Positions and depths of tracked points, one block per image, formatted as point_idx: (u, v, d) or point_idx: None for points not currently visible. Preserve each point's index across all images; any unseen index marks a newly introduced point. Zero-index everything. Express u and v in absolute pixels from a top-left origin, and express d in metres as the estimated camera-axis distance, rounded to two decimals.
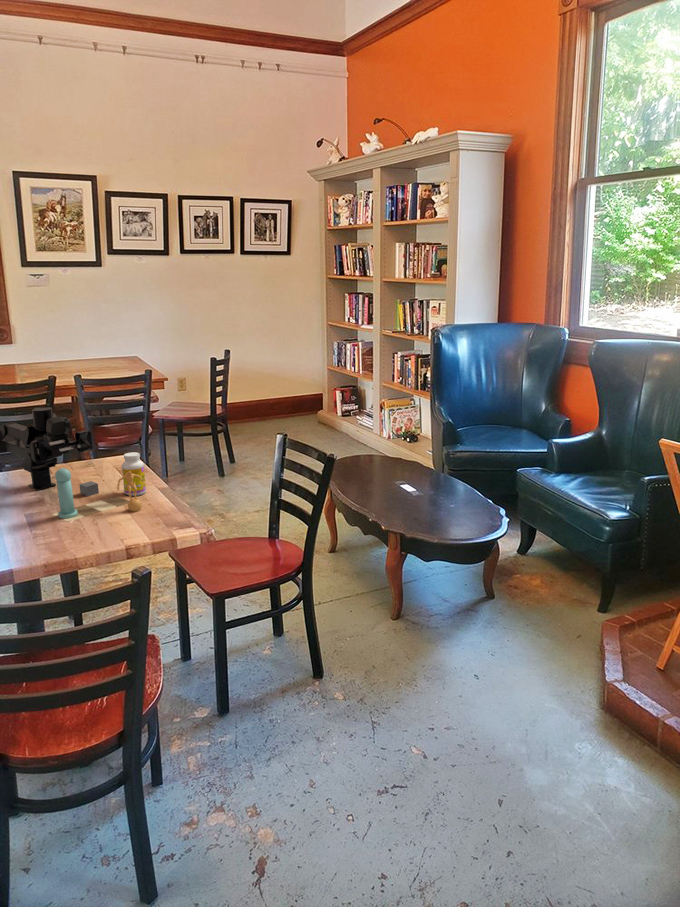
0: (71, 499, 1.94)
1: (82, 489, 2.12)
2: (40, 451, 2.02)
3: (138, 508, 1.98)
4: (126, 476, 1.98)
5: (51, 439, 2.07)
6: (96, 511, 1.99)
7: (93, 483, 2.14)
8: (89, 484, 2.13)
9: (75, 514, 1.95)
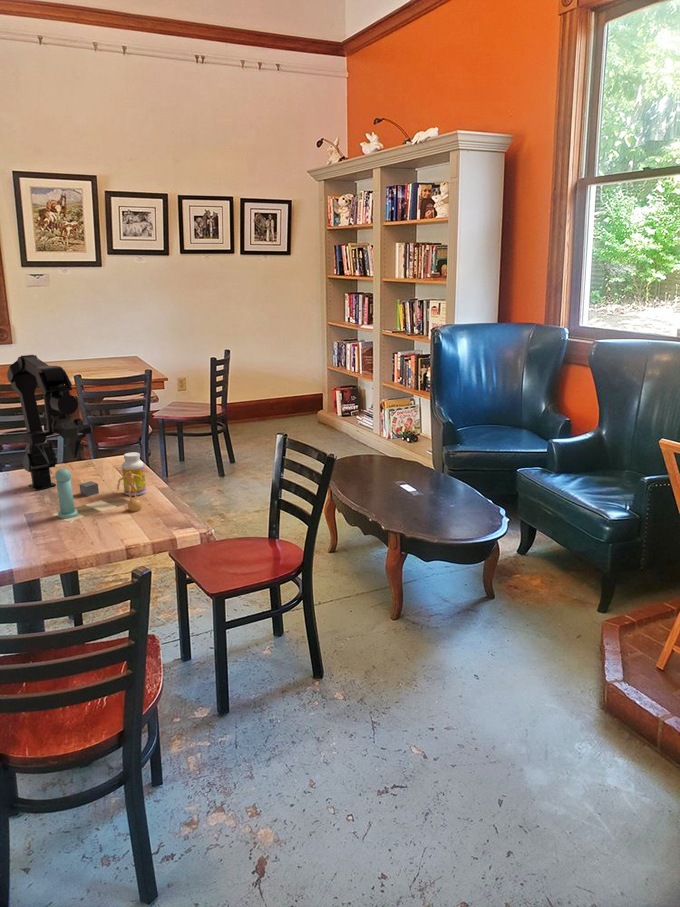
0: (71, 499, 1.94)
1: (82, 489, 2.12)
2: None
3: (138, 508, 1.98)
4: (126, 476, 1.98)
5: None
6: (96, 511, 1.99)
7: (93, 483, 2.14)
8: (89, 484, 2.13)
9: (75, 514, 1.95)
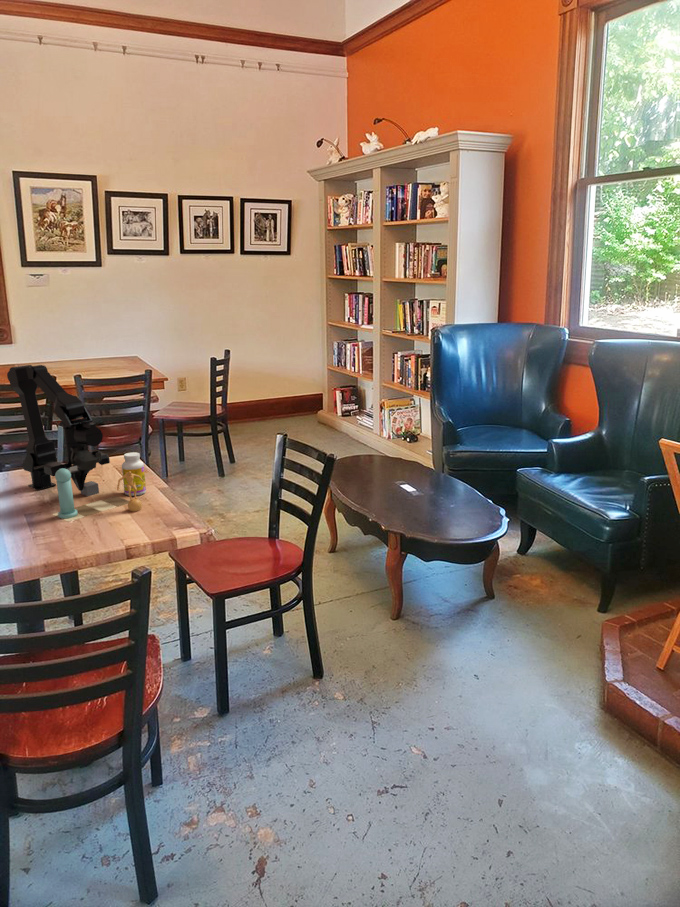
0: (71, 499, 1.94)
1: (83, 489, 2.12)
2: None
3: (138, 508, 1.98)
4: (126, 476, 1.98)
5: None
6: (96, 511, 1.99)
7: (93, 483, 2.14)
8: (89, 484, 2.13)
9: (75, 514, 1.95)
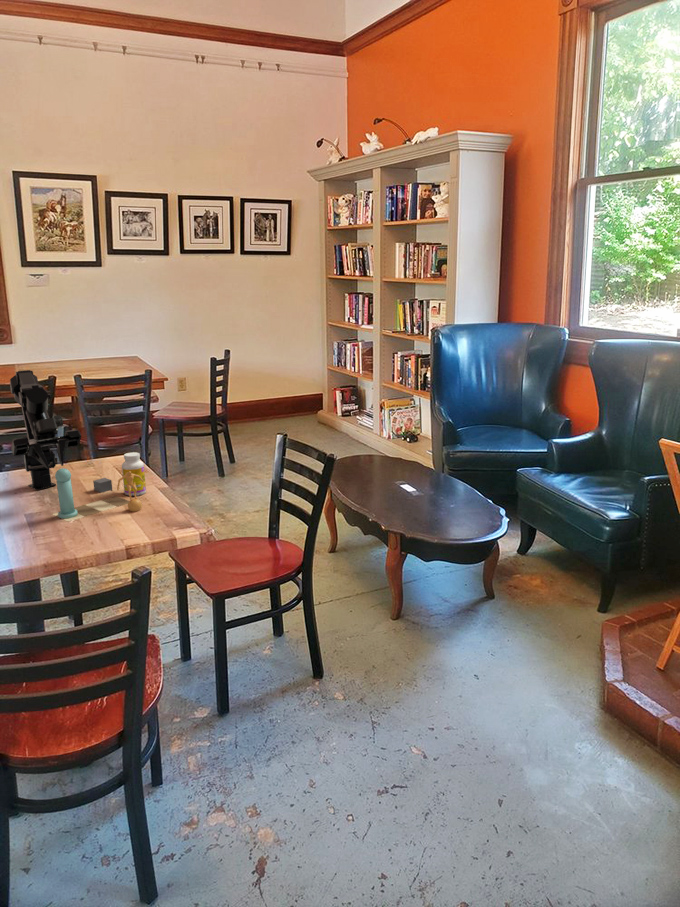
0: (71, 499, 1.94)
1: (96, 485, 2.16)
2: (30, 450, 1.97)
3: (138, 508, 1.98)
4: (126, 476, 1.98)
5: (37, 436, 1.98)
6: (96, 511, 1.99)
7: (107, 479, 2.17)
8: (103, 480, 2.16)
9: (75, 514, 1.95)
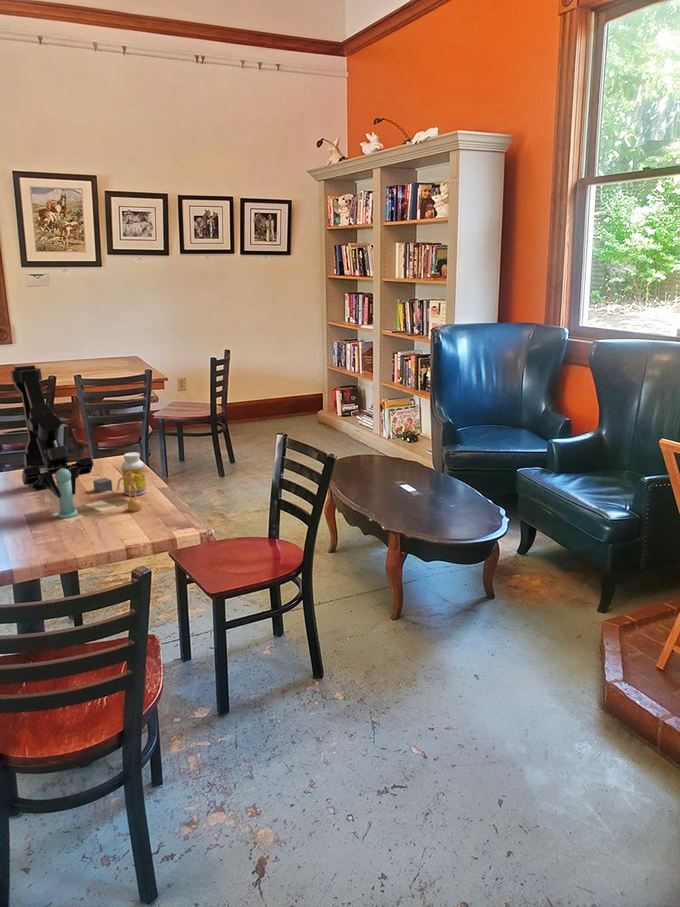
0: (71, 499, 1.94)
1: (96, 485, 2.16)
2: (41, 479, 1.92)
3: (138, 508, 1.98)
4: (126, 476, 1.98)
5: (48, 464, 1.93)
6: (96, 511, 1.99)
7: (107, 480, 2.17)
8: (103, 480, 2.16)
9: (75, 514, 1.95)
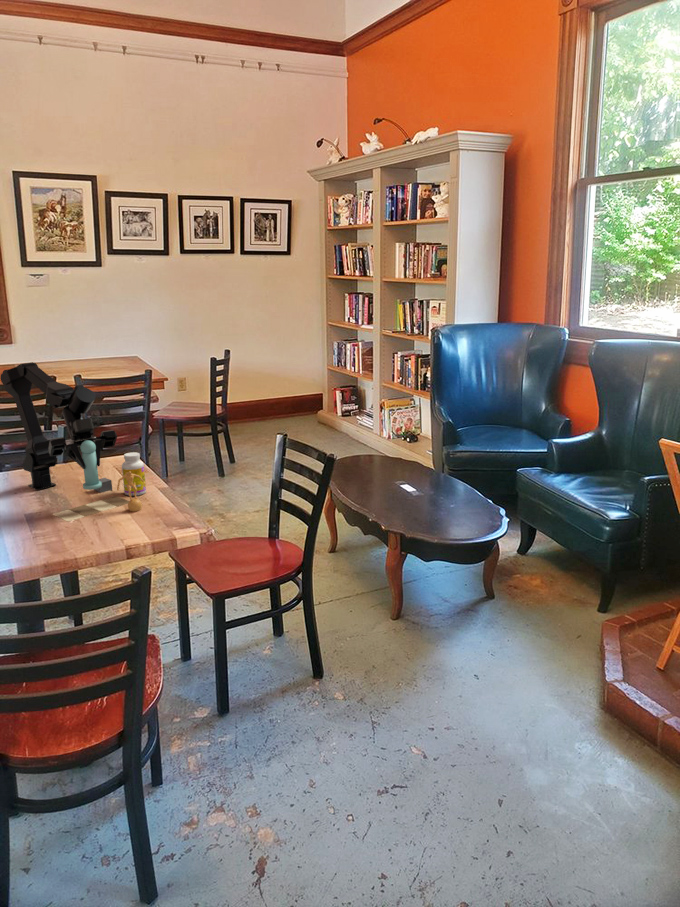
0: (96, 471, 1.98)
1: None
2: (66, 451, 1.97)
3: (138, 508, 1.98)
4: (126, 476, 1.98)
5: (74, 436, 1.98)
6: (96, 511, 1.99)
7: (107, 479, 2.17)
8: (103, 480, 2.16)
9: (99, 485, 1.99)
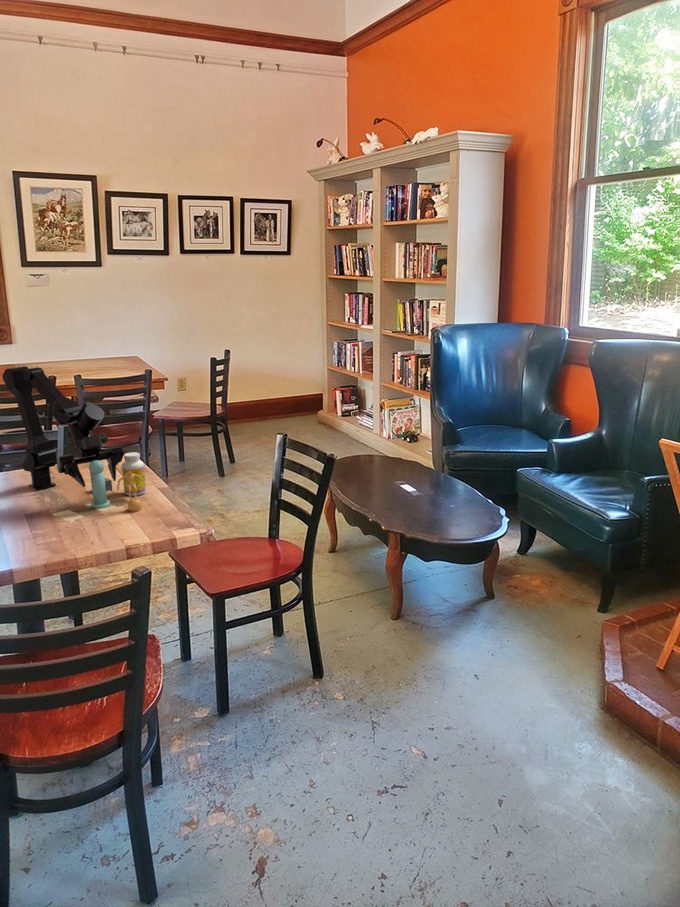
0: (104, 490, 2.01)
1: None
2: (66, 469, 1.98)
3: (138, 508, 1.98)
4: (126, 476, 1.98)
5: (82, 453, 2.00)
6: (96, 511, 1.99)
7: (107, 479, 2.17)
8: None
9: (108, 504, 2.02)
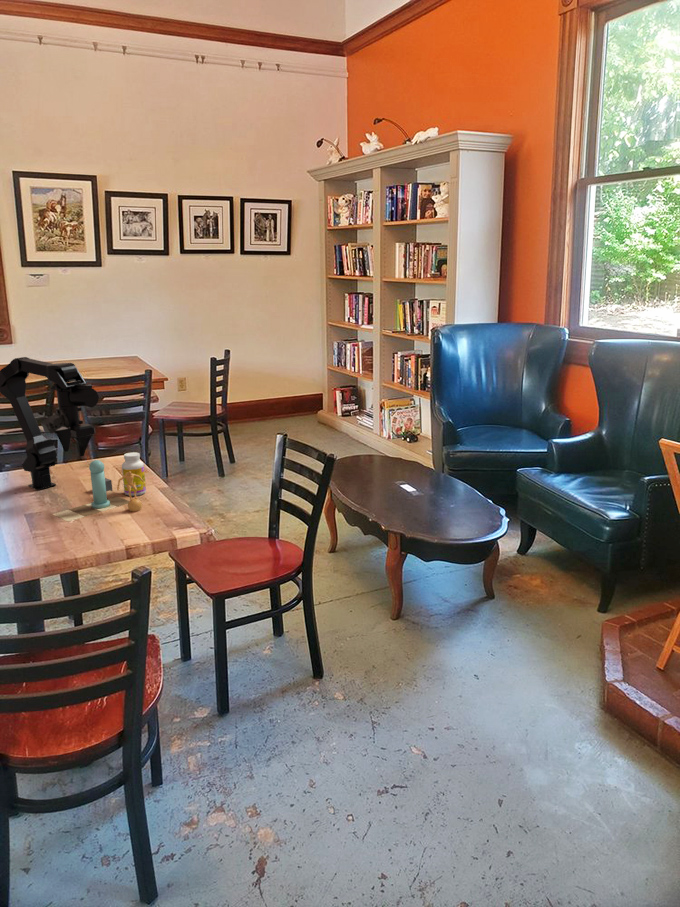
0: (104, 490, 2.01)
1: None
2: None
3: (138, 508, 1.98)
4: (126, 476, 1.98)
5: None
6: (96, 511, 1.99)
7: (107, 479, 2.17)
8: None
9: (108, 504, 2.02)
